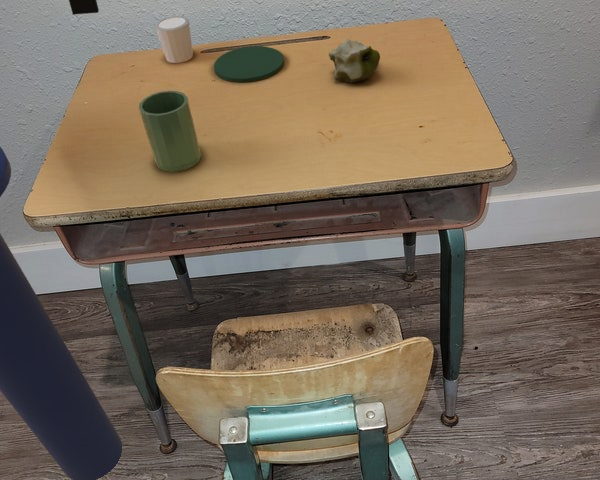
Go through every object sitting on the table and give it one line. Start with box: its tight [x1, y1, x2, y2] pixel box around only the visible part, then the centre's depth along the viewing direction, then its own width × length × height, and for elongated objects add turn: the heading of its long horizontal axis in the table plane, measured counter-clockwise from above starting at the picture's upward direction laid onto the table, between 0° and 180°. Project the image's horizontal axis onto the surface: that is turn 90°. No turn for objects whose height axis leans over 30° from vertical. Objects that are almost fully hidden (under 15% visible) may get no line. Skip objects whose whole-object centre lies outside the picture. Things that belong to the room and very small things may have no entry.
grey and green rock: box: [328, 39, 381, 84], centre depth 110 cm, size 9×9×8 cm
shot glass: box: [154, 15, 194, 64], centre depth 122 cm, size 7×7×7 cm
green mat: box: [213, 45, 285, 83], centre depth 119 cm, size 14×14×1 cm
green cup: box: [138, 90, 202, 173], centre depth 94 cm, size 7×7×10 cm
